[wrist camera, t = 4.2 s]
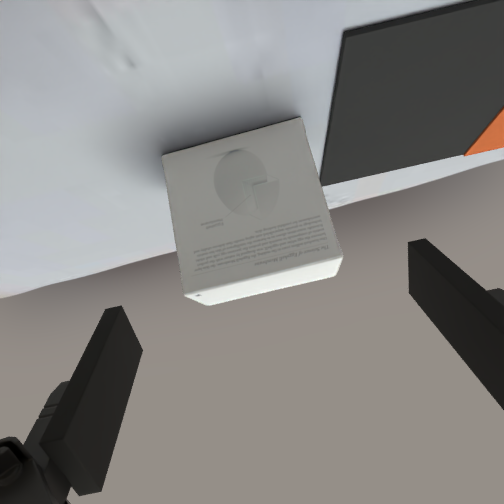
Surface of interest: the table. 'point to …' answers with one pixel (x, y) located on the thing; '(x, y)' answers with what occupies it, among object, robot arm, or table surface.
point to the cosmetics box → (250, 214)
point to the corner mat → (417, 91)
